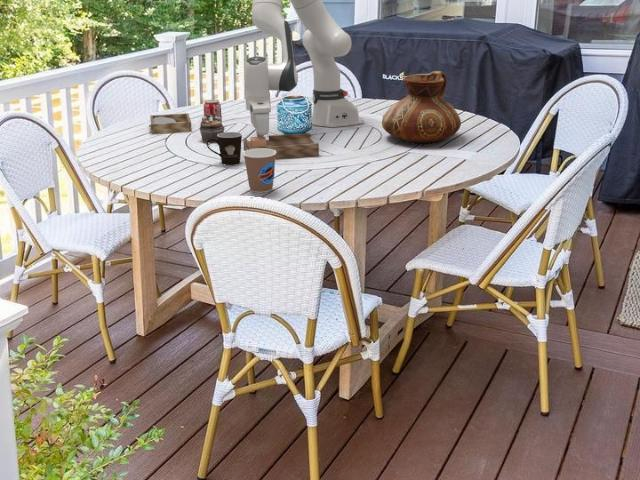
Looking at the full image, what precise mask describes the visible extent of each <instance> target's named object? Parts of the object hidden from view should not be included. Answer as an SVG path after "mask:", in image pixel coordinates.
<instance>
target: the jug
mask: <svg viewBox="0 0 640 480" xmlns="http://www.w3.org/2000/svg"><path fill="white" fill-rule="evenodd" d="M402 80H403V82H404V84H405V87H406V89H407V92H408V94H407V95H406V97H404V98H402V99H400V100H398V101H397V102H394V103H393V104H392V105H390V107H389V108H388V109H387V111H386V112H385V113H384V115H383V116H382V121H381V125H382V126H381V127H382V128H383V130H384V131H385V132H386V133H388V134H389V135H390V136H391V137H393V138H395V139H397V140H399V142H402V143H406V144H411V145H420V146H421V145H422V146H423V145H425V146H426V145H436V144H440V143H443V142H445V141H446V140H448V139H450V138H452V137H453V136H454V135H455V134H456V133H458V131H459V130H460V129H461V124H462V121H461V118H460V116H459V114H458V112H457V110H456V109H455V107H454V106H453V105H452V104H451V103H450V102H448V101H446V100H445V98H444V95H445V91H446V89H447V86H448V85H447V83H448V79H447V75H446V72H443V71H440V70H439V71H438V70H437V71H436V70H433V71H432V72H429V73H417V74H409V75H406V76H404V77H403V78H402Z"/></svg>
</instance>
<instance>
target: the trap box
mask: <svg viewBox="0 0 640 480" xmlns="http://www.w3.org/2000/svg"><path fill="white" fill-rule="evenodd" d="M310 135H311V134H310V132H309V133H291V134H277V135H276V134H274V135H268V139H266V145H267V147H251V140H248V139H247V137H243V142H242V143H243V144H242V145H243V150H244V151H247V150H250V149H257V148H266V149H272V150H275V151H276V154H275V160H280V159H294V158H295V159H296V158H307V157H308V158H309V157H312V158H313V157H319V156H320V152H319V151H320V144H319V143H318V142H316V143H315V142H314V141H313V140H312V138H311V136H310ZM244 151H243V152H244Z"/></svg>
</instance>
